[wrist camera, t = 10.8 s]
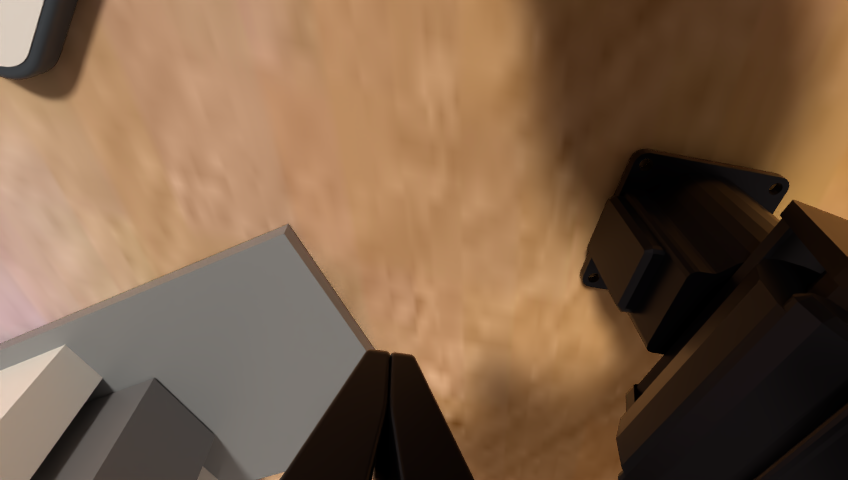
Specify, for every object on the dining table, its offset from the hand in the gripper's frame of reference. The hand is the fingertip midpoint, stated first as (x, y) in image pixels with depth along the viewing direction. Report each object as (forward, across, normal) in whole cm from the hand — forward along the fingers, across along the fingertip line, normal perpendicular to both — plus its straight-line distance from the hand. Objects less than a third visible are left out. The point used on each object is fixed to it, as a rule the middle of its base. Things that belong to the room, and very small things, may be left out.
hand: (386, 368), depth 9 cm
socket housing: (+12, +8, +16) cm, 22 cm away
